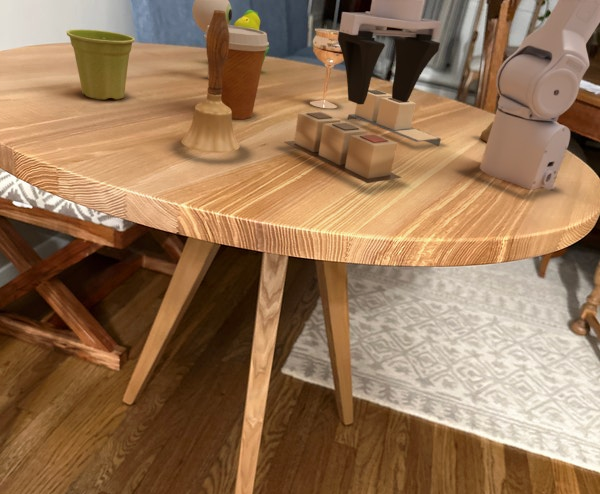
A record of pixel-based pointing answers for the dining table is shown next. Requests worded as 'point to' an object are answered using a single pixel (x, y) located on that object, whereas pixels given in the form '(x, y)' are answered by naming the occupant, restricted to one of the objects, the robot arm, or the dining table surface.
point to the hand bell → (214, 97)
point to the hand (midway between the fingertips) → (378, 101)
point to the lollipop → (209, 12)
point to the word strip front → (328, 141)
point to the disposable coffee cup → (242, 69)
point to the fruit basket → (250, 22)
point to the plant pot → (101, 62)
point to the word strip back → (391, 116)
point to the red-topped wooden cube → (370, 155)
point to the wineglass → (327, 58)
